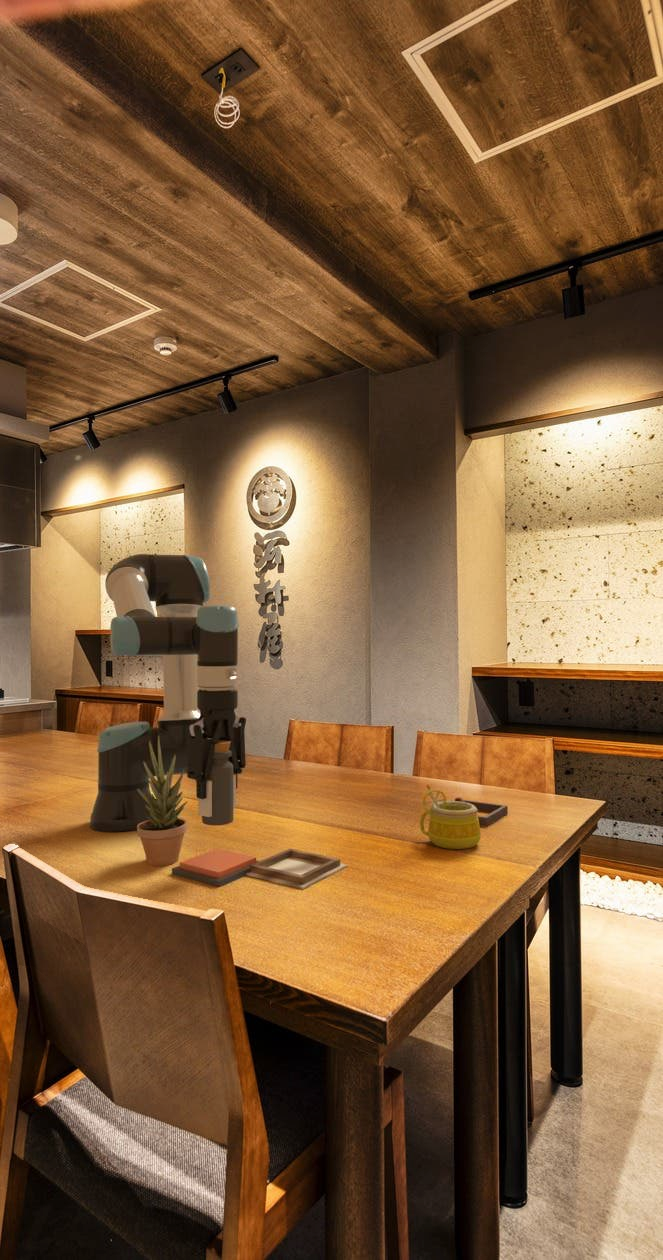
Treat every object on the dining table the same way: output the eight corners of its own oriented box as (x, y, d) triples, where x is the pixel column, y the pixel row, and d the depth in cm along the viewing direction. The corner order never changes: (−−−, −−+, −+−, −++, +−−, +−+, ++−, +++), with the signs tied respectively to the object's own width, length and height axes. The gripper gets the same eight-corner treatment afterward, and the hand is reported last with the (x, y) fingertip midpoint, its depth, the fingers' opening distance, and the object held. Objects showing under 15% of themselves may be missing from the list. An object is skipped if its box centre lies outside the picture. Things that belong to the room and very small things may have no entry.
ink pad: (171, 873, 125) (171, 862, 125) (217, 856, 135) (217, 846, 135) (219, 886, 118) (219, 875, 118) (264, 867, 128) (263, 856, 128)
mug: (485, 839, 145) (485, 783, 145) (474, 854, 135) (473, 794, 135) (427, 833, 150) (427, 778, 150) (412, 847, 140) (411, 789, 140)
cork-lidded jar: (227, 826, 124) (227, 744, 124) (196, 824, 125) (197, 743, 125) (237, 817, 129) (237, 739, 129) (208, 816, 131) (208, 738, 130)
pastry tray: (432, 818, 162) (432, 809, 162) (456, 806, 174) (455, 798, 174) (486, 826, 155) (486, 817, 155) (507, 813, 166) (507, 805, 166)
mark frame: (242, 874, 124) (242, 865, 124) (289, 853, 136) (289, 846, 136) (303, 889, 117) (303, 880, 117) (347, 866, 128) (347, 858, 128)
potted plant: (134, 857, 135) (133, 733, 135) (182, 850, 139) (181, 730, 139) (141, 872, 126) (140, 739, 126) (192, 865, 129) (191, 736, 130)
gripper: (195, 693, 117) (195, 827, 117) (265, 685, 133) (265, 803, 133) (165, 691, 121) (165, 820, 122) (236, 683, 137) (236, 798, 137)
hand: (217, 811), depth 127 cm, fingers closed on cork-lidded jar, 6 cm apart
